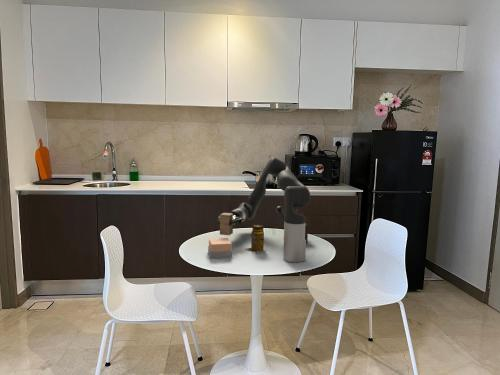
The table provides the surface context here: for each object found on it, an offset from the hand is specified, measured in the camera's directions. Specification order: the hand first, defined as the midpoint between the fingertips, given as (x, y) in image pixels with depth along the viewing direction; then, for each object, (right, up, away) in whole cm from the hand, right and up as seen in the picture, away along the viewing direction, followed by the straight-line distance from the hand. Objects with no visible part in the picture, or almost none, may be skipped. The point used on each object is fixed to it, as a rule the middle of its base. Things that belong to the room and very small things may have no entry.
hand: (224, 222), depth 188 cm
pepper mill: (+34, -11, +15) cm, 39 cm away
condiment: (+15, -13, -3) cm, 20 cm away
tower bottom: (-1, -14, -10) cm, 18 cm away
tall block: (+1, -6, +3) cm, 7 cm away
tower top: (-1, -11, -11) cm, 16 cm away
